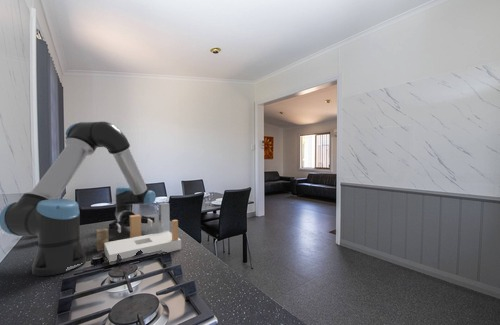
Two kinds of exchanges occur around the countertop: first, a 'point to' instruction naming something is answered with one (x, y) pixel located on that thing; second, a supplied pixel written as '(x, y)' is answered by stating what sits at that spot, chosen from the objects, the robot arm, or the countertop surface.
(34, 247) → the countertop surface
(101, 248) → the pin short
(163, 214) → the pin long
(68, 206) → the robot arm
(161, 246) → the hole block
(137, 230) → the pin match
